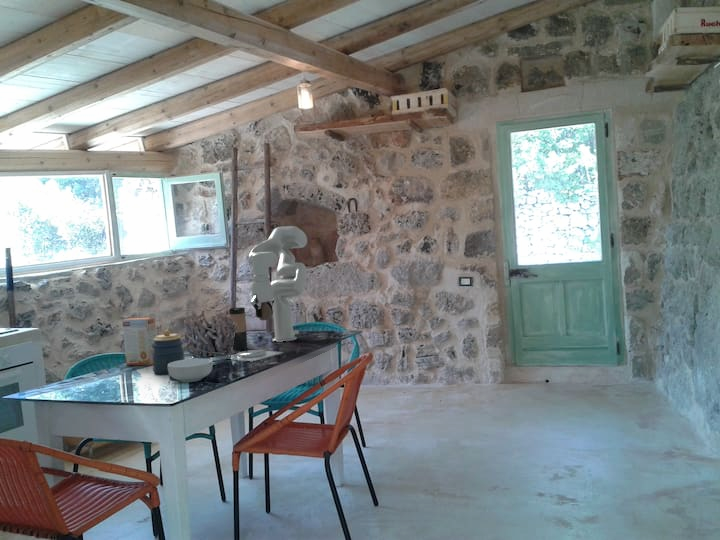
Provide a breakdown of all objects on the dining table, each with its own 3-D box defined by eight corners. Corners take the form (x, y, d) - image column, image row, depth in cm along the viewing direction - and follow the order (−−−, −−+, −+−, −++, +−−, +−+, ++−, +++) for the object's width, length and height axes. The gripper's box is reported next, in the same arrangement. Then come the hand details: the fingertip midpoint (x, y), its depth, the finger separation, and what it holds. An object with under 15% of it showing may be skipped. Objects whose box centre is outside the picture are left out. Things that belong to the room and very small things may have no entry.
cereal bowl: (190, 386, 237) (188, 367, 237) (159, 383, 246) (157, 365, 246) (222, 376, 252) (221, 358, 251) (192, 374, 260) (191, 356, 260)
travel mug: (249, 347, 319) (246, 307, 317) (245, 350, 311) (242, 308, 310) (234, 348, 319) (231, 307, 318) (229, 350, 312) (226, 309, 311)
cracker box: (159, 363, 290) (155, 317, 289) (149, 366, 285) (145, 319, 284) (135, 362, 296) (131, 317, 295) (125, 365, 291) (121, 319, 290)
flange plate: (251, 351, 306) (251, 347, 306) (283, 353, 295) (282, 349, 295) (220, 359, 290) (219, 355, 290) (252, 361, 278) (251, 357, 278)
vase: (258, 319, 312) (256, 301, 311) (272, 318, 313) (271, 300, 312) (257, 321, 305) (255, 303, 304) (271, 320, 306) (270, 301, 305)
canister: (174, 375, 260) (171, 332, 260) (147, 375, 264) (143, 332, 263) (191, 368, 273) (188, 327, 272) (165, 368, 277) (162, 327, 276)
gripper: (268, 276, 316) (271, 312, 318) (242, 281, 302) (246, 318, 304) (279, 276, 312) (282, 313, 314) (254, 281, 298) (257, 319, 299)
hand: (264, 315), depth 309 cm, fingers closed on vase, 6 cm apart
